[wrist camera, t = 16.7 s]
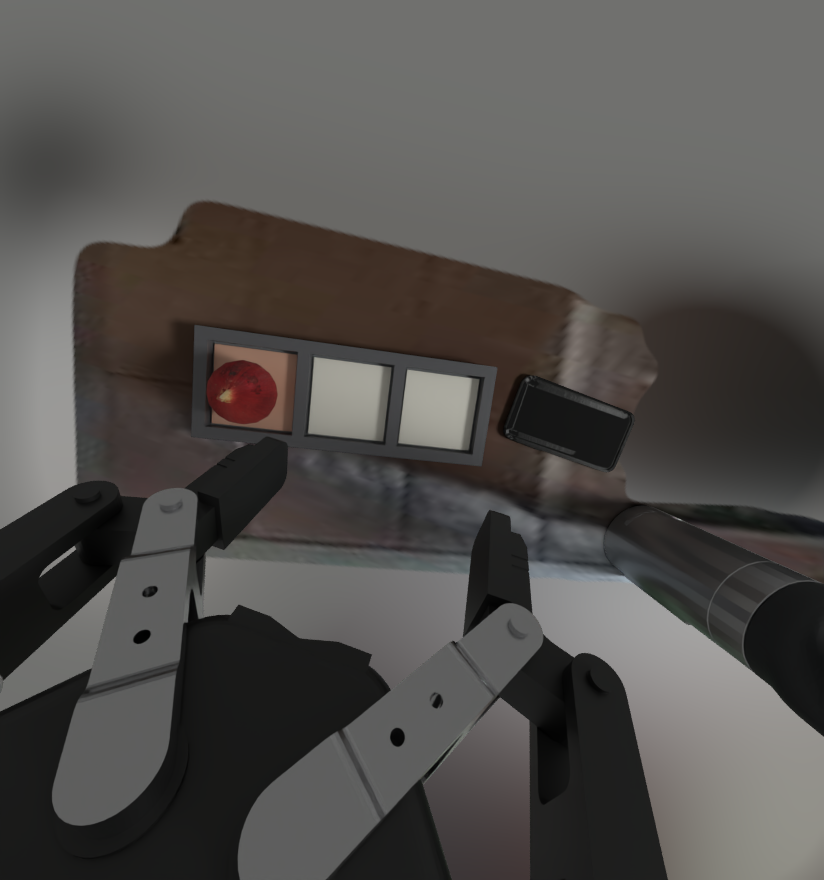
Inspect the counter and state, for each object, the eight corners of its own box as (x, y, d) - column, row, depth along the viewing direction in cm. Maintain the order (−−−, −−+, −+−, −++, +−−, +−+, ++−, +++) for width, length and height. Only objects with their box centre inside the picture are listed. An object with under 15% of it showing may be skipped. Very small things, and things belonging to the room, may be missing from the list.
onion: (232, 356, 35) (191, 349, 27) (290, 370, 36) (267, 367, 28) (222, 412, 35) (180, 421, 28) (280, 425, 36) (254, 437, 28)
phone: (527, 372, 39) (637, 415, 42) (523, 372, 40) (631, 414, 43) (502, 437, 40) (611, 475, 43) (499, 436, 41) (605, 473, 44)
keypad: (489, 368, 39) (497, 367, 37) (474, 461, 41) (481, 466, 38) (207, 328, 36) (194, 324, 33) (203, 433, 37) (191, 436, 35)
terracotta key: (298, 355, 36) (297, 354, 35) (292, 431, 37) (291, 431, 37) (216, 344, 35) (214, 343, 34) (213, 422, 36) (211, 423, 36)
